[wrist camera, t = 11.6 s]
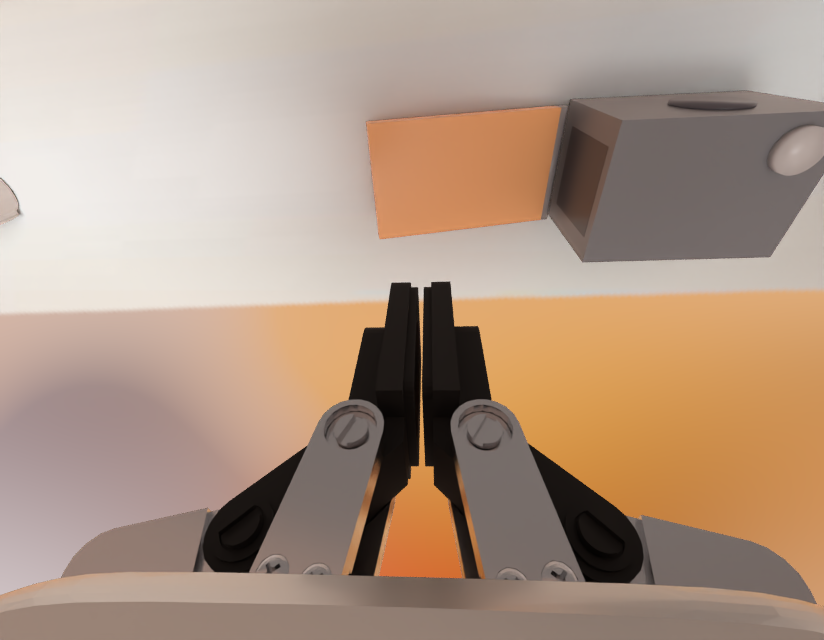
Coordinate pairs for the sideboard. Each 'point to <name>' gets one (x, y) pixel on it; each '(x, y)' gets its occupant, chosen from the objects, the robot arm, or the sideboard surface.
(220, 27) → the sideboard surface
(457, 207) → the side door
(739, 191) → the camera housing
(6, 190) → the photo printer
